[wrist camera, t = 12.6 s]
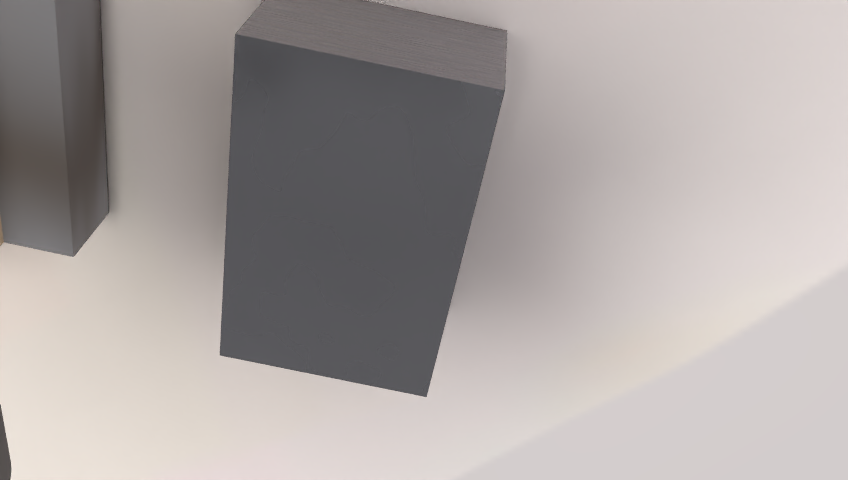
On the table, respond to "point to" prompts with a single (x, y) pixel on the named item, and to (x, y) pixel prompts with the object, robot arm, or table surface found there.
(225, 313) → the grey rectangular box
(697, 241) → the table surface
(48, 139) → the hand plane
